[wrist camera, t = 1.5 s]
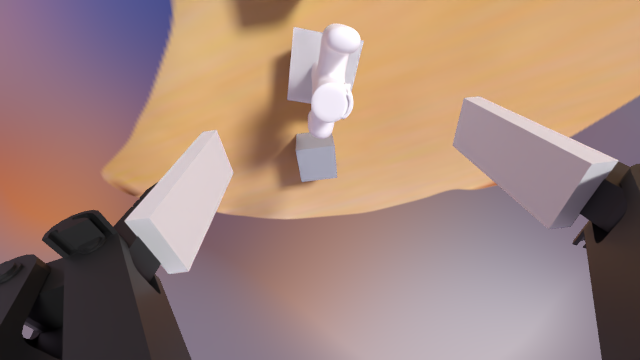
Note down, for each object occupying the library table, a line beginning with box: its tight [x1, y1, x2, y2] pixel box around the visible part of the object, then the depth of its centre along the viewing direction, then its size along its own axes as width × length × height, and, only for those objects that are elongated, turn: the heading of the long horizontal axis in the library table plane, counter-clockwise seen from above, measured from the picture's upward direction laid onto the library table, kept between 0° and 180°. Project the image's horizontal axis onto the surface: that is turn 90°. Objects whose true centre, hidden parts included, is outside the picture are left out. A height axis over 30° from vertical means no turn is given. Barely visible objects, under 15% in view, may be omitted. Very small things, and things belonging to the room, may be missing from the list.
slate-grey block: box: [296, 132, 337, 182], centre depth 33 cm, size 5×5×5 cm
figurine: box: [287, 24, 364, 139], centre depth 23 cm, size 7×9×15 cm
